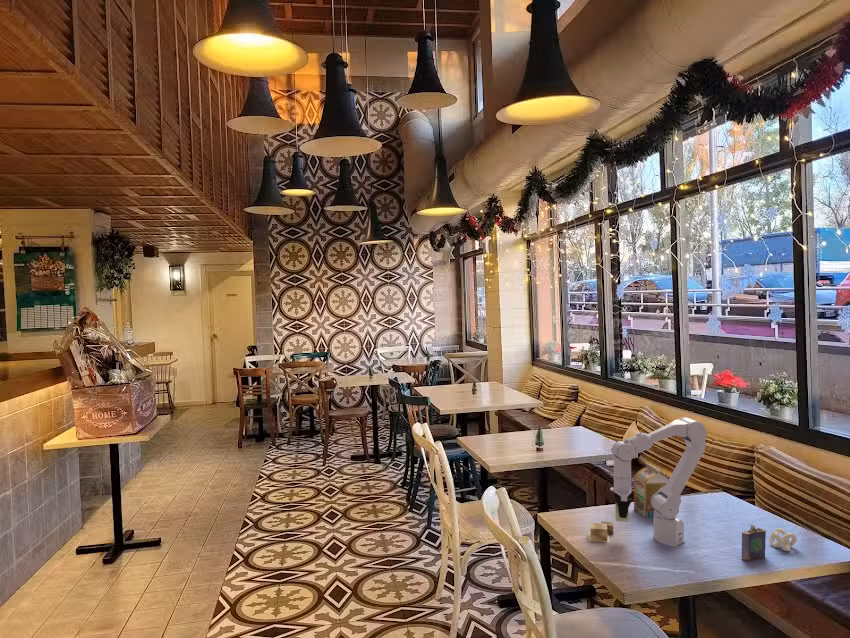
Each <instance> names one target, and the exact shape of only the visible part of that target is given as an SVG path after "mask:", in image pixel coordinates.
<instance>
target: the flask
mask: <svg viewBox="0 0 850 638" xmlns="http://www.w3.org/2000/svg"><path fill="white" fill-rule="evenodd" d="M748 527H750V528H749V529H748V530H744V531H742V532H741V560H742V561H744V562H751V561H756V560H760V559H765V558H766V533H767V531H766V530H765V529H763V528H761V527H757V528H756V526H755V525H754V524H750V525H748Z"/></svg>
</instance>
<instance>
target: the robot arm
mask: <svg viewBox="0 0 850 638" xmlns="http://www.w3.org/2000/svg"><path fill="white" fill-rule="evenodd" d="M708 434H709V433H708V431H707V428H706V427H705V425H704V424H703V423H702V422H701V421H696V420H695V419H692V418H690V417H688V416H682V417H680V418H677V419H674V420H673V421H671V422H670V423H668V424H666V425H664V426H662V427H660V428H658V429H655V430H654V431H652V432H650V433H645V432H639V431H638V432H636V435H634V436H631V437H629V438H626V437H625V438H624V439H623V441H621V440H618V441H615V442H614V443H613V445H612V446H611V448H610V451H611V453H612V455H613V487H610V488H609V489H610V492H613V495H614V500H615V503H617V505H618V511H619V516H620V518H626V517H627V513H628V514H629V509H630V505H631V503H632V502H633V499H632V498H630V496H631V494H632V492H633V491H632V459H634V456H636V455H637V454H638V455H639V454H640V453H642V452H644V451H647V450H650V449H651V448H652V447H653V444H655V443H656V442H659V441H662V440H665V439H667V438H670V437H673V436H678V437H681V438H683V441H684V442H685V443H684V444H685V445H686V448H685V450H684V452H682V455H681V457H680V459H679V461H678V462H677V464H676V465H675V468H674V469H673V471H672V473H671V475H670V477H669V478H668V479H669V480H668V482H667V484H666V485H665V486H663V487H661V488H660V489H659V491H658V492H657V493H656V494H654V495H653V496H652V498H651V505H652V507H653V508H654V518H653V539H654V540H655V541H657V542H658V543H660V544H663V545H666V546H670V547H673V548H674V547H677V546H679V545H680V544H683V543H686V541H685V539H684V538H685V525H684V521H683V520H682V519H680V518H679V517H677V516H678V514H679V512H680V505H681V503H682V498H681V494H682V492H683V490H685V487H686V485H687V483H688V481H689V479H690V478H691V476H692V474H693V472H694V471H695V469H696V468H697V465H698V463H699V461H700V460H701V458H702V457H703V454H704V453H705V450H706V439H707V438H706V437H707V435H708Z"/></svg>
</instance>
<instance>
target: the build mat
mask: <svg viewBox="0 0 850 638" xmlns="http://www.w3.org/2000/svg"><path fill="white" fill-rule="evenodd" d="M587 534H588V537H587V538H588V541H590V542H591V541H592V542H602V543H610V536H609V535H610V534H607V541H600V540H591V535H590V532H588V533H587Z"/></svg>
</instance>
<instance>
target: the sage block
mask: <svg viewBox="0 0 850 638" xmlns="http://www.w3.org/2000/svg"><path fill="white" fill-rule="evenodd" d="M614 509H615V513H614V514H615V516H614V517H615V521H616V522H626V523H629V512H628V513H627V517H626V518H620V516H619V511H618V505H617V503H616V502H615V508H614Z"/></svg>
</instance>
